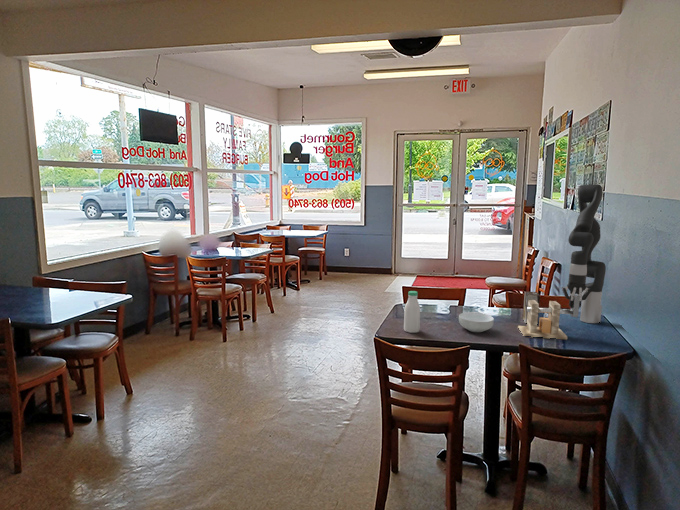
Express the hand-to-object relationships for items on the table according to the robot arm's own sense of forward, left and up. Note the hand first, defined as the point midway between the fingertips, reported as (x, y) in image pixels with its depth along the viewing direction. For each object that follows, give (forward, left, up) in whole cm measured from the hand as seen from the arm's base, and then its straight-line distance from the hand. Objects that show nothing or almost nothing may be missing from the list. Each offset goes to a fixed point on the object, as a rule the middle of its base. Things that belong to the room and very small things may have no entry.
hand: (574, 307), depth 239 cm
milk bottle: (+78, +8, -14) cm, 80 cm away
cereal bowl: (+46, 0, -14) cm, 48 cm away
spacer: (+13, 0, -13) cm, 18 cm away
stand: (+14, 0, -14) cm, 20 cm away
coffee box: (+15, -20, -14) cm, 29 cm away
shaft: (+10, 0, -4) cm, 11 cm away
